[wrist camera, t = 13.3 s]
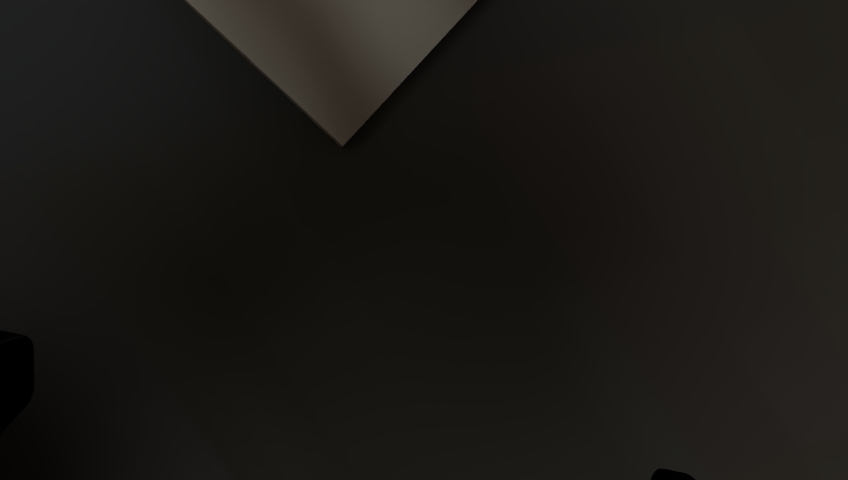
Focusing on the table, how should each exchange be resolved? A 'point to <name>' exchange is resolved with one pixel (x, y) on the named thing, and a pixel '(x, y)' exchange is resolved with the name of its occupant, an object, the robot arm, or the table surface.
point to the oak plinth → (333, 49)
